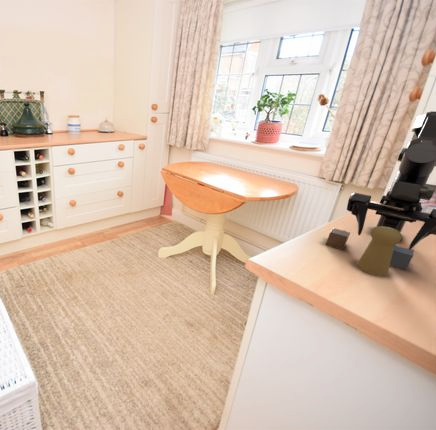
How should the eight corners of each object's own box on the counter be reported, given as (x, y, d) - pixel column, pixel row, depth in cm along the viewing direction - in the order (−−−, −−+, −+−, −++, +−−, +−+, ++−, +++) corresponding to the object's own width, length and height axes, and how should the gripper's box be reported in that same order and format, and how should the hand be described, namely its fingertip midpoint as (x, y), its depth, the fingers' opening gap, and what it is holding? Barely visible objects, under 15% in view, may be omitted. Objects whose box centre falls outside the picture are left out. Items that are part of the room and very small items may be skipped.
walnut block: (329, 240, 85) (333, 227, 84) (345, 245, 83) (350, 232, 81) (325, 244, 83) (330, 231, 81) (342, 249, 80) (347, 236, 79)
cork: (375, 263, 74) (392, 224, 70) (394, 276, 69) (414, 235, 64) (350, 261, 75) (366, 222, 70) (366, 274, 69) (384, 233, 65)
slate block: (386, 257, 77) (393, 244, 75) (407, 264, 74) (414, 250, 73) (385, 263, 74) (391, 249, 73) (406, 269, 72) (413, 255, 70)
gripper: (363, 161, 72) (338, 213, 69) (478, 177, 59) (453, 241, 57) (358, 185, 80) (335, 233, 77) (457, 204, 67) (435, 262, 65)
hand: (383, 241), depth 69 cm, fingers open, 9 cm apart
